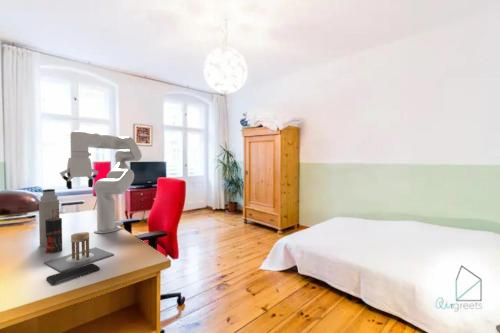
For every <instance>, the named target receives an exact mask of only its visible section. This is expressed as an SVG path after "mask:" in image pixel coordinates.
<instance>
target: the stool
mask: <svg viewBox="0 0 500 333" xmlns="http://www.w3.org/2000/svg"><path fill="white" fill-rule="evenodd" d="M70 242H71V254H72V258H75V253H76V260H79V252H80V243H81V251H82V256H83V255H85V250H86V257H89V249H90V232H88V231H83V232H82V231H81V232H75V233H73V234H71V235H70Z"/></svg>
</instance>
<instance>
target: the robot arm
mask: <svg viewBox="0 0 500 333" xmlns="http://www.w3.org/2000/svg"><path fill="white" fill-rule="evenodd" d="M89 148H94V149H95V148H96V149H104V150H105V149H108V150H117V151H116V152H115V154H114V158H115V164H114V166H113V167H112V168H111V170H109V172H108V173H107V174H106V178H100V179H98V180H97V181H96V182H95V183H94V180H95V179H96V178H97V175H98V174H99V171H98V170H96V169H94V168H92V167H93V166H92V162H91V158H90V157H91V156H92V153H90V152H89ZM141 158H142V152H141V150H140V148H139V146H138V145H137V143H136V141H135V139H134V138H133V137H131V136H118V135H117V136H116V135H112V134H111V135H110V134H99V133H97V132H87V131H82V130H74V131H71V132H70V157H68V160H67V167H66V169H65V170H63V171H61V172H59V174H60V176H61V178H62V179H63V180H64V181H65V182H66V185H65V186H66V188H67V189H68V190H72V189H73V187H72V186H73V185H72V184H73V182H72V179H73V178H84V177H85V178H88V180H87V183H88V184H87V186H88V188H93V186H94V192H95V196H96V228H95V229H94V230H93V232H94V233H95V234H108V233H113V232H116V231H119V226H122V225H124V221H116V200H115V198H114V195H118V196H119V195H124V194H125V192H127V190H128V189H129V187H130V186H131V185H132V184H133V182H134V181H135V180H134V179H135V173H134V170H132V169H130V168H129V166H128V164H127V163H126V162H138V161H140V160H141Z"/></svg>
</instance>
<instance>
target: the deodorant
mask: <svg viewBox="0 0 500 333" xmlns="http://www.w3.org/2000/svg"><path fill="white" fill-rule="evenodd" d="M45 223H46V247H45V253H46V254H48V255H49V254H55V253H60V252H62V251H63V226H62V225H63V219H62V217H59V218H52V219H47V220H45Z"/></svg>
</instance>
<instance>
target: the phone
mask: <svg viewBox="0 0 500 333" xmlns="http://www.w3.org/2000/svg"><path fill="white" fill-rule="evenodd" d="M100 270H101V268H100V266H98V265H96V264H95V263H88V264H85V265H82V266H79V267H76V268H73V269H70V270H67V271H64V272H59V273H54V274H52V275H48V276H46V281H47V282H48V283H49V284H50V285H51V286H56V285H60V284H62V283H66V282H68V281H71V279H72V280H74V278H75V279H78V278H80V276H81V277H83V276H84V277H85V276H87V275H90V274H92V273H96V272H99V271H100ZM77 277H78V278H77Z"/></svg>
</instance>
